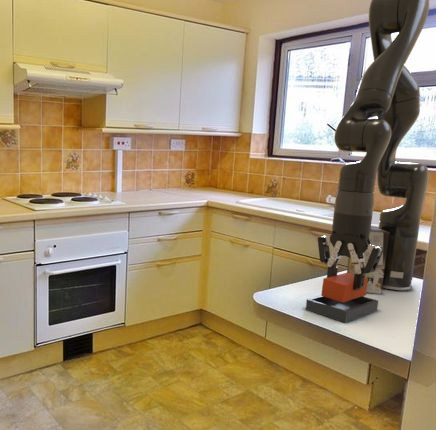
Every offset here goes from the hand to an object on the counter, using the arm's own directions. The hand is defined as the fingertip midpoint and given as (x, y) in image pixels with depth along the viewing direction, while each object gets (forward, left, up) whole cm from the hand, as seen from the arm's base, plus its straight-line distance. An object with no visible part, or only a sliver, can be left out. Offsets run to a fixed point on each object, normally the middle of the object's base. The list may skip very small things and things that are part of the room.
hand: (344, 285), depth 103 cm
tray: (0, 0, -6) cm, 6 cm away
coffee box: (-22, -6, -6) cm, 24 cm away
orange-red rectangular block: (0, 0, -2) cm, 2 cm away
